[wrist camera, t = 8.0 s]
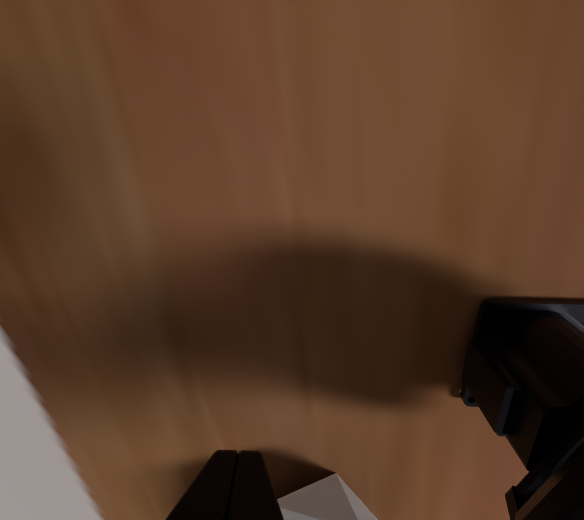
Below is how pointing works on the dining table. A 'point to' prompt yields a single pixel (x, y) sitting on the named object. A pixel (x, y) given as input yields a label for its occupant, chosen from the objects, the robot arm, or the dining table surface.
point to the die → (324, 502)
